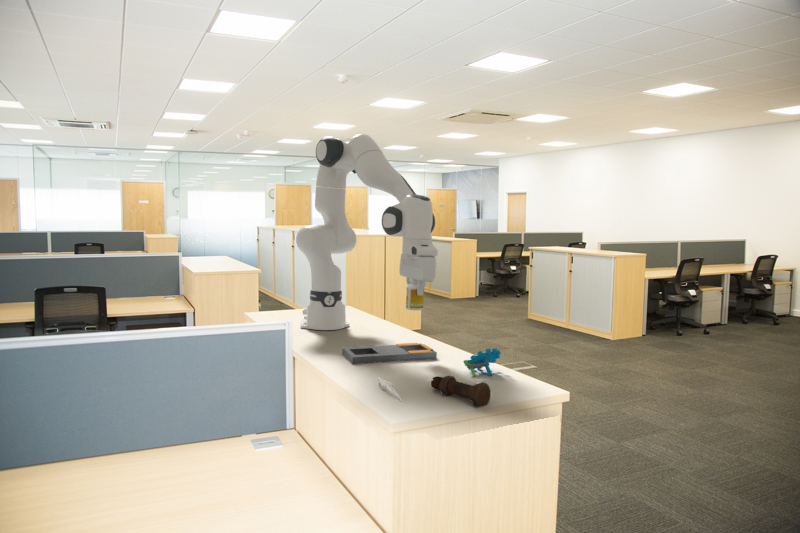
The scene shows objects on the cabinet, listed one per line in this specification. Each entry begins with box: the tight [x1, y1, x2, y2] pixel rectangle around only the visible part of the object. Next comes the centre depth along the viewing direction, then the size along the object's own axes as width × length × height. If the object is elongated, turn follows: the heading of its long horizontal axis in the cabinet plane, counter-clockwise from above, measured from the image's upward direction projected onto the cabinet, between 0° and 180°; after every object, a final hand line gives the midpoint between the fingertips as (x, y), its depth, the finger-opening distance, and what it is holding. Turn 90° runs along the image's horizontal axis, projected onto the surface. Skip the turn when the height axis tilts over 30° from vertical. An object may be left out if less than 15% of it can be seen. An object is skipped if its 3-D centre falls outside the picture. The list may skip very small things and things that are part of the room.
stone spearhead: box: [377, 377, 403, 402], centre depth 124 cm, size 15×3×2 cm, turn 22°
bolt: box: [430, 375, 491, 408], centre depth 121 cm, size 6×5×15 cm
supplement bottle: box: [405, 277, 425, 311], centre depth 158 cm, size 5×5×10 cm
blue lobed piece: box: [463, 347, 502, 377], centre depth 141 cm, size 11×6×10 cm
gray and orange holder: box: [341, 342, 438, 365], centre depth 157 cm, size 12×26×2 cm, turn 110°
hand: (415, 293), depth 158 cm, fingers closed on supplement bottle, 5 cm apart
